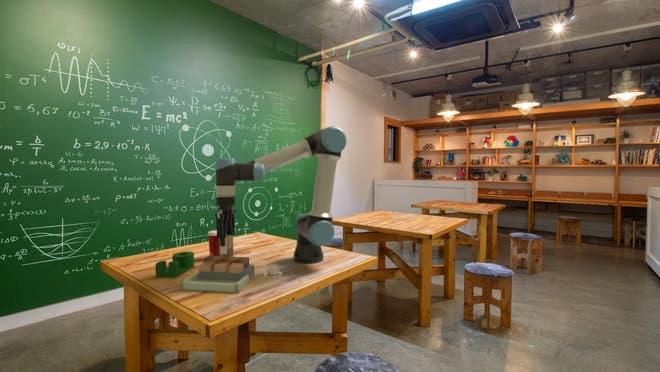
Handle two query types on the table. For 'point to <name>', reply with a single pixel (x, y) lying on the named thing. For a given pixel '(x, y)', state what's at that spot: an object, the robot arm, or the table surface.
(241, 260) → the scraper
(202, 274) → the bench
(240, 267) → the tile
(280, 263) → the table surface
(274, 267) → the teacup and saucer
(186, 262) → the green bracket
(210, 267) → the tile
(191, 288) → the tray
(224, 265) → the tile
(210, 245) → the paper cup
